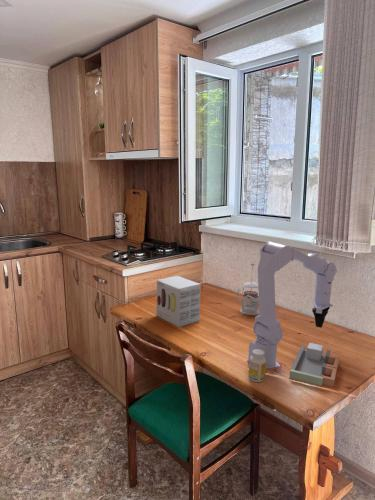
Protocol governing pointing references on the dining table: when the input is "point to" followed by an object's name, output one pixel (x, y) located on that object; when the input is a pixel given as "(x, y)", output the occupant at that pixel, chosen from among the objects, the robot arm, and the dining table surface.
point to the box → (314, 369)
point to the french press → (250, 299)
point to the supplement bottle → (257, 365)
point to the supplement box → (178, 300)
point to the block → (314, 351)
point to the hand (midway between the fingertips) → (319, 325)
